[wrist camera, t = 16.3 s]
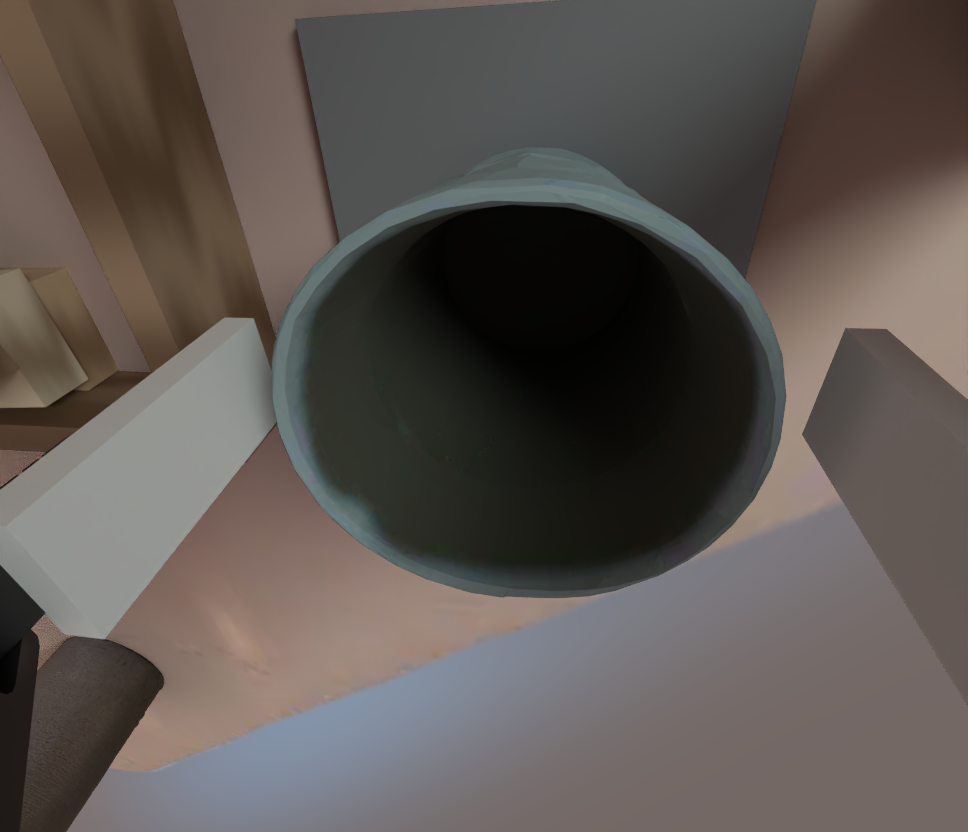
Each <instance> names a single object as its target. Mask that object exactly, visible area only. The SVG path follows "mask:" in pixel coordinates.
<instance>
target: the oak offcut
mask: <svg viewBox="0 0 968 832" xmlns="http://www.w3.org/2000/svg"><path fill="white" fill-rule="evenodd" d="M1 269H15V268H0V270H1ZM20 269H21V270H22V272H23V274H24V275H25V277H26V279H27V280H28V282H29V283H30V285H31V287H32V288H33V290H34V292H35V293H36V295H37V296H38V298H39V300H40V301H41V303H42V305H43V306H44V308H45V309H46V311H47V313H48V314H49V316H50V317H51V319H52V321H53V322H54V324H55V326H56V327H57V329H58V330H59V332H60V334H61V335H62V337H63V339H64V340H65V342H66V343H67V345H68V347H69V348H70V350H71V352H72V353H73V355H74V356H75V358H76V360H77V361H78V363H79V365H80V366H81V368H82V369H83V371H84V373H85V374H86V376H87V377H88V380H87V381H85V382H84V383H82V384H81V385H79V386H78V387H76V388H74V389H73V390H83V391H89V390H90V389H92V388H93V387H95V386H96V385H98V384H99V383H101V382H102V381H104V380H105V379H107V378H108V377H110V376H111V375H113V374H114V373H116V372H117V371H118V370H119V369H118V367H117V365H116V363H115V361H114V360H113V358H112V356H111V354H110V352H109V350H108V348H107V346H106V344H105V342H104V340H103V338H102V337H101V335H100V333H99V331H98V329H97V327H96V325H95V323H94V321H93V319H92V317H91V316H90V314H89V312H88V310H87V308H86V306H85V304H84V302H83V300H82V298H81V296H80V294H79V293H78V291H77V289H76V287H75V285H74V283H73V281H72V279H71V277H70V275H69V273H68V272H67V270H66V268H20Z"/></svg>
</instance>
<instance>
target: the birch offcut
mask: <svg viewBox="0 0 968 832" xmlns="http://www.w3.org/2000/svg"><path fill="white" fill-rule="evenodd" d="M0 346H1V347H2V348H3V349H4V350H5V351H6V353H7V354H8V355H9V356H10V357H11V358H12V360H13V361H14V362H15V363H16V364H17V365H18V367H19V369H17V370H15V371H13V372H12V373H10V374H8V375H6V376H4V377H2V378H1V379H0V408H28V407H47V406H48V405H50V404H51V403H53V402H54V401H56V400H58V399H59V398H61V397H62V396H64V395H65V394H67V393H68V392H70V391H71V390H73V389H74V388H76V387H78V386H79V385H81V384H82V383H84V382H85V381H87V380H88V377H87V376H86V374H85V373H84V371H83V369H82V368H81V366H80V365H79V363H78V361H77V360H76V358H75V356H74V355H73V353H72V352H71V350H70V348H69V347H68V345H67V343H66V342H65V340H64V339H63V337H62V335H61V334H60V332H59V330H58V329H57V327H56V326H55V324H54V322H53V321H52V319H51V317H50V316H49V314H48V313H47V311H46V309H45V308H44V306H43V305H42V303H41V301H40V300H39V298H38V296H37V295H36V293H35V292H34V290H33V288H32V287H31V285H30V283H29V282H28V280H27V279H26V277H25V275H24V274H23V272H22V270H21V269H20V268H15V269H1V270H0Z"/></svg>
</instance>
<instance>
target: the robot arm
mask: <svg viewBox="0 0 968 832" xmlns="http://www.w3.org/2000/svg"><path fill="white" fill-rule="evenodd" d="M275 424H276V418H275V413H274V408H273V402H272V390H271V368H270V365H269V362H268V359H267V356H266V353H265V351H264V348H263V345H262V342H261V339H260V336H259V333H258V330H257V327H256V324H255V321H254V318H223V319H222V320H221V321H219V322H218V323H217V324H215V325H214V326H213V327H212V328H210V329H209V330H208V331H206V332H205V333H204V334H202V335H201V336H200V337H198V338H197V339H196V340H195V341H193V342H192V343H191V344H189V345H188V346H187V347H185V348H184V349H183V350H182V351H180V352H179V353H178V354H176V355H175V356H174V357H172V358H171V359H170V360H169V361H167V362H166V363H165V364H163V365H162V366H161V367H159V368H158V369H157V370H156V371H154V372H153V373H152V374H150V375H149V376H148V377H146V378H145V379H144V380H143V381H141V382H140V383H139V384H137V385H136V386H135V387H133V388H132V389H131V390H129V391H128V392H127V393H126V394H124V395H123V396H122V397H120V398H119V399H118V400H116V401H115V402H114V403H113V404H111V405H110V406H109V407H107V408H106V409H105V410H103V411H102V412H101V413H100V414H98V415H97V416H96V417H94V418H93V419H92V420H90V421H89V422H88V423H87V424H85V425H84V426H83V427H81V428H80V429H79V430H77V431H76V432H75V433H73V434H72V435H70V436H68V437H66V438H65V439H63V440H62V441H61V442H59V443H58V444H57V445H55V446H54V447H53V448H51V449H50V450H49V451H48V452H46V453H45V454H44V455H42V458H41V459H37V460H36V461H34V462H33V463H32V464H31V465H29V466H28V467H27V468H25V469H24V470H23V471H22V472H23V473H21V474H20V475H16V476H15V477H14V478H12V479H11V480H10V481H8V482H7V483H6V484H4V485H3V486H2V487H0V832H20V822H21V813H22V804H23V795H24V786H25V777H26V767H27V758H28V749H29V740H30V731H31V721H32V712H33V703H34V694H35V685H36V675H37V666H38V657H39V648H40V645H39V640H38V636H37V635H36V634H35V633H34V632H33V631H32V630H31V628H32V627H33V626H34V625H35V624H36V622H37V621H38V620H39V619H40V618H41V617H42V616H43V615H44V614H45V615H46V616H47V617H48V618H49V619H50V620H51V621H52V622H53V623H54V624H55V625H56V626H57V627H58V628H59V629H60V631H61V632H62V633H63V634H64V635H72V636H80V637H89V638H97V639H105V638H106V637H107V636H108V634H109V633H110V632H111V631H112V629H113V628H114V627H115V625H116V624H117V623H118V622H119V620H120V619H121V618H122V617H123V615H124V614H125V613H126V612H127V610H128V609H129V608H130V607H131V605H132V604H133V603H134V601H135V600H136V599H137V598H138V596H139V595H140V594H141V593H142V591H143V590H144V589H145V588H146V586H147V585H148V584H149V583H150V581H151V580H152V579H153V578H154V576H155V575H156V574H157V572H158V571H159V570H160V569H161V567H162V566H163V565H164V564H165V562H166V561H167V560H168V559H169V557H170V556H171V555H172V554H173V552H174V551H175V550H176V548H177V547H178V546H179V545H180V543H181V542H182V541H183V540H184V538H185V537H186V536H187V535H188V533H189V532H190V531H191V530H192V528H193V527H194V526H195V525H196V523H197V522H198V521H199V519H200V518H201V517H202V516H203V514H204V513H205V512H206V511H207V509H208V508H209V507H210V506H211V504H212V503H213V502H214V501H215V499H216V498H217V497H218V496H219V494H220V493H221V492H222V490H223V489H224V488H225V487H226V485H227V484H228V483H229V482H230V480H231V479H232V478H233V477H234V475H235V474H236V473H237V472H238V470H239V469H240V468H241V466H242V465H243V464H244V463H245V461H246V460H247V459H248V458H249V456H250V455H251V454H252V453H253V451H254V450H255V449H256V448H257V446H258V445H259V444H260V443H261V441H262V440H263V439H264V437H265V436H266V435H267V434H268V432H269V431H270V430H271V429H272V427H273V426H274V425H275ZM802 435H803V437H804V438H805V440H806V442H807V443H808V445H809V447H810V448H811V450H812V452H813V453H814V455H815V456H816V458H817V460H818V461H819V463H820V465H821V466H822V468H823V470H824V471H825V473H826V475H827V476H828V478H829V479H830V481H831V483H832V484H833V486H834V488H835V489H836V491H837V493H838V494H839V496H840V498H841V499H842V501H843V502H844V504H845V506H846V507H847V509H848V510H849V512H850V514H851V516H852V517H853V519H854V520H855V522H856V524H857V525H858V527H859V528H860V530H861V532H862V533H863V535H864V537H865V539H866V540H867V542H868V544H869V545H870V547H871V548H872V550H873V552H874V553H875V555H876V557H877V558H878V560H879V562H880V563H881V565H882V566H883V568H884V570H885V571H886V573H887V575H888V576H889V578H890V580H891V581H892V583H893V584H894V586H895V588H896V590H897V591H898V593H899V594H900V596H901V598H902V599H903V601H904V603H905V604H906V606H907V608H908V609H909V611H910V612H911V614H912V615H913V617H914V619H915V620H916V622H917V624H918V626H919V627H920V629H921V631H922V632H923V634H924V636H925V637H926V639H927V640H928V642H929V644H930V645H931V647H932V649H933V650H934V652H935V653H936V655H937V657H938V659H939V660H940V662H941V663H942V665H943V667H944V668H945V670H946V672H947V673H948V675H949V677H950V678H951V680H952V681H953V683H954V685H955V686H956V688H957V690H958V691H959V693H960V695H961V696H962V698H963V700H964V701H965V703H966V705H967V706H968V400H967V399H966V398H965V397H964V396H963V395H962V394H960V393H959V392H958V391H957V390H956V389H955V388H954V387H952V386H951V385H950V384H949V383H948V382H947V381H946V380H944V379H943V378H942V377H941V376H940V375H939V374H938V373H936V372H935V371H934V370H933V369H932V368H931V367H930V366H928V365H927V364H926V363H925V362H924V361H923V360H922V359H920V358H919V357H918V356H917V355H916V354H915V353H913V352H912V351H911V350H910V349H909V348H908V347H907V346H905V345H904V344H903V343H902V342H901V341H900V340H899V339H897V338H896V337H895V336H894V335H893V334H892V333H891V332H889V331H888V330H887V329H859V328H845V331H844V333H843V336H842V338H841V340H840V343H839V345H838V348H837V350H836V353H835V355H834V358H833V360H832V363H831V365H830V367H829V370H828V372H827V375H826V377H825V380H824V382H823V385H822V387H821V389H820V392H819V394H818V397H817V399H816V402H815V404H814V407H813V409H812V412H811V414H810V416H809V419H808V421H807V424H806V426H805V429H804V431H803V434H802Z"/></svg>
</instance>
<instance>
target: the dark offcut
mask: <svg viewBox="0 0 968 832" xmlns="http://www.w3.org/2000/svg"><path fill="white" fill-rule="evenodd" d="M17 369H19V367H18V365H17V364H16V363H15V362H14V361H13V360H12V358H11V357H10V356H9V355H8V354H7V353H6V351H5V350H4V349H3V348H2V347H1V346H0V379H1V378H2V377H4V376H6V375H8V374H10V373H12V372H13V371H15V370H17Z"/></svg>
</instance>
